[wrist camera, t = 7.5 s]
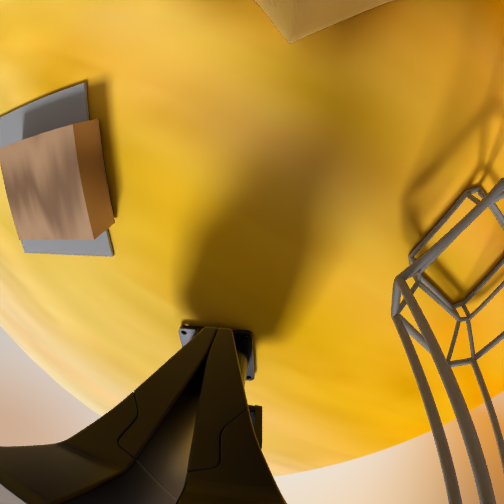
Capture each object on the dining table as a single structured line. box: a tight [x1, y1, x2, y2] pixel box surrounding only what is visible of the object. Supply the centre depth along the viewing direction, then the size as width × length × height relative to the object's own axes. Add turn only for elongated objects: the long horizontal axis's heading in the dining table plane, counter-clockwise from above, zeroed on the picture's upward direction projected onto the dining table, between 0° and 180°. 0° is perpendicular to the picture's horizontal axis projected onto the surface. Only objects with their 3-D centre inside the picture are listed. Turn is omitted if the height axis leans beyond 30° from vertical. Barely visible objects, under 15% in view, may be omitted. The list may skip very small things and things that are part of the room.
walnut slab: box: [0, 119, 115, 240], centre depth 19 cm, size 8×3×9 cm
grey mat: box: [0, 83, 114, 257], centre depth 20 cm, size 14×12×1 cm
